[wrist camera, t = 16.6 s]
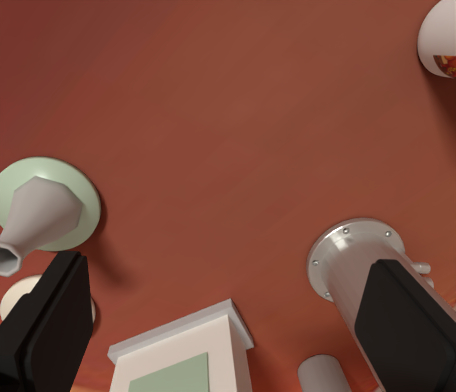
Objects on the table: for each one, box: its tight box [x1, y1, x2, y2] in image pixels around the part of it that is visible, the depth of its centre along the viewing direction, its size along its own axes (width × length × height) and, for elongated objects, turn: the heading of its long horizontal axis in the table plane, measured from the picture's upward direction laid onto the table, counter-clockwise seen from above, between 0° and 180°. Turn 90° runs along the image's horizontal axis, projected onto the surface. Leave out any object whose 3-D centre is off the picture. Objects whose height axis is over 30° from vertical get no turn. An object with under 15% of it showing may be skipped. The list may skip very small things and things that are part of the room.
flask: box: [0, 176, 83, 277], centre depth 33 cm, size 7×7×10 cm
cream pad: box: [0, 274, 96, 323], centre depth 43 cm, size 11×11×1 cm
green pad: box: [0, 156, 101, 251], centre depth 38 cm, size 11×11×1 cm
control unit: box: [107, 298, 254, 392], centre depth 42 cm, size 8×18×14 cm, turn 113°
